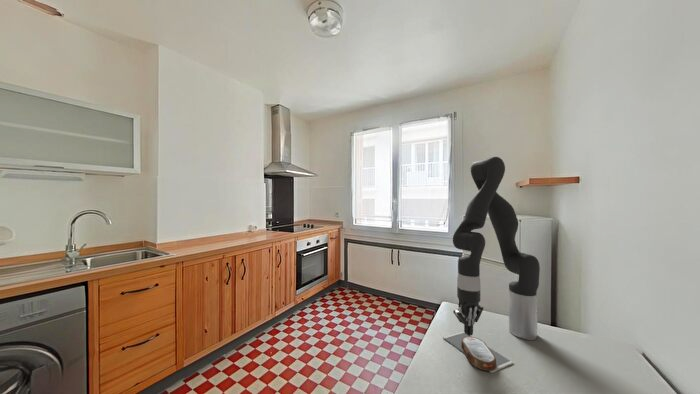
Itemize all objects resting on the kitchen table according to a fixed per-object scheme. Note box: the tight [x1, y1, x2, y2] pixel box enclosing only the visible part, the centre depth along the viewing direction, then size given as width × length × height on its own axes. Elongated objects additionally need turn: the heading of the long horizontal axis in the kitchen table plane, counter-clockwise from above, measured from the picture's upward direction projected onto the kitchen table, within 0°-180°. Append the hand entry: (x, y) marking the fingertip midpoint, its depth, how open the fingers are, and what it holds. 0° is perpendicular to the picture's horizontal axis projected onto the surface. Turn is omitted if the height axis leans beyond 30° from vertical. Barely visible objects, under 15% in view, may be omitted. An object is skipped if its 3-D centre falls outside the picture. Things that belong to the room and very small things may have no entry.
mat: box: [443, 331, 514, 374], centre depth 86 cm, size 11×20×1 cm, turn 23°
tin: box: [461, 336, 496, 372], centre depth 82 cm, size 15×3×8 cm
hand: (468, 334), depth 84 cm, fingers closed
